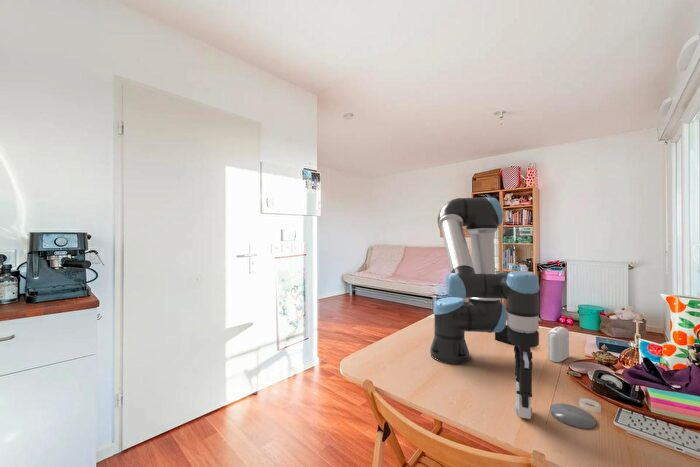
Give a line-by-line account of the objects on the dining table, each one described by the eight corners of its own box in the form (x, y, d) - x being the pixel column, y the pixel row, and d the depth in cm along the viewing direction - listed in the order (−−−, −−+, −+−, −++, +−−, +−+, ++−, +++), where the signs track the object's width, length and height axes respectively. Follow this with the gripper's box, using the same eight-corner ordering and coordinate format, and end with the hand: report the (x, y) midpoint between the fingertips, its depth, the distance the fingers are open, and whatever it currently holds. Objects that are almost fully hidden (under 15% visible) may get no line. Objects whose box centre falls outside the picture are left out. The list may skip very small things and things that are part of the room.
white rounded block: (558, 353, 119) (558, 323, 119) (570, 357, 116) (570, 326, 116) (546, 360, 114) (546, 328, 114) (559, 364, 110) (559, 331, 110)
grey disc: (554, 423, 77) (554, 420, 77) (546, 402, 86) (546, 400, 86) (602, 432, 73) (602, 430, 73) (588, 410, 82) (588, 408, 82)
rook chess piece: (525, 419, 78) (525, 390, 78) (510, 410, 82) (510, 382, 82) (536, 415, 80) (536, 386, 80) (521, 406, 84) (520, 378, 84)
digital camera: (524, 344, 130) (524, 328, 130) (518, 347, 127) (518, 331, 127) (500, 337, 138) (500, 322, 138) (495, 340, 135) (494, 325, 135)
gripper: (545, 342, 71) (546, 436, 71) (532, 320, 87) (533, 397, 87) (510, 337, 74) (511, 428, 74) (504, 317, 90) (504, 392, 90)
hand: (523, 411), depth 81 cm, fingers closed on rook chess piece, 4 cm apart
